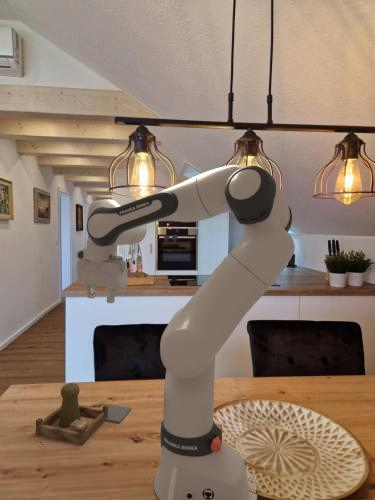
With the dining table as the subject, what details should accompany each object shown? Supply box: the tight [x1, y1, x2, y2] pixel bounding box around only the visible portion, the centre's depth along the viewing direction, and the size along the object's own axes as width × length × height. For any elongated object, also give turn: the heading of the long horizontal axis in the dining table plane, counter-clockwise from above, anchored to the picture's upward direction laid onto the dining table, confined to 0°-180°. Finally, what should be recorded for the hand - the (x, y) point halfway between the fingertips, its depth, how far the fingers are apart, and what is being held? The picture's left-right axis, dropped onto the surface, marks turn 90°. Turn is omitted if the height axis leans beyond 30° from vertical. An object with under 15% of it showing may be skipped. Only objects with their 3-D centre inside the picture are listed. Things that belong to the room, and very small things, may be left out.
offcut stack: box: [68, 419, 89, 432], centre depth 89 cm, size 5×4×4 cm
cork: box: [58, 382, 82, 429], centre depth 96 cm, size 6×6×11 cm
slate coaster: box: [94, 403, 132, 425], centre depth 100 cm, size 8×8×1 cm
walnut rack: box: [35, 404, 108, 446], centre depth 94 cm, size 15×13×4 cm
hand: (100, 300), depth 98 cm, fingers open, 8 cm apart
